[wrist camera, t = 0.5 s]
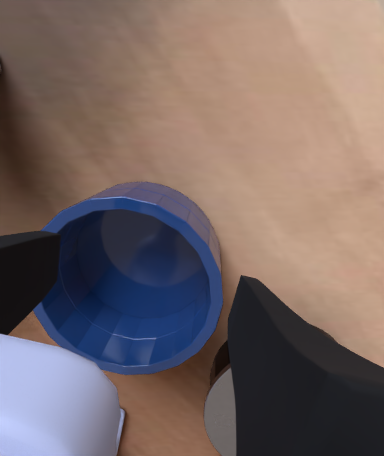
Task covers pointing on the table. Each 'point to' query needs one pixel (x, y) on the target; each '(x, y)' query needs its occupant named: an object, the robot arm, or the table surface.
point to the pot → (134, 279)
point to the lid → (221, 413)
